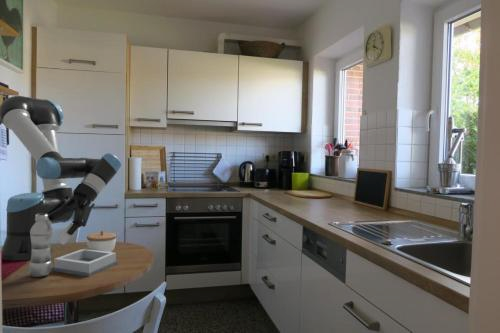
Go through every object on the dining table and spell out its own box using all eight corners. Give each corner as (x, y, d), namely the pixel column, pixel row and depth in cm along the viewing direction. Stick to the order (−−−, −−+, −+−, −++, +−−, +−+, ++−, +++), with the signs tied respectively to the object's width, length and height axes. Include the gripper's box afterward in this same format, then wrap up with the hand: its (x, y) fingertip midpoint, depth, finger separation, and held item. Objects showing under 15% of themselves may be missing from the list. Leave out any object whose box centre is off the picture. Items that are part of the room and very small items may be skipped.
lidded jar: (95, 260, 132) (96, 235, 132) (81, 254, 138) (81, 230, 138) (121, 254, 140) (121, 231, 140) (106, 249, 147) (107, 227, 147)
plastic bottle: (48, 270, 118) (50, 212, 118) (54, 276, 114) (55, 215, 113) (26, 274, 114) (27, 213, 113) (31, 280, 109) (32, 217, 108)
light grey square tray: (51, 270, 119) (51, 259, 119) (83, 258, 133) (83, 248, 133) (89, 276, 115) (89, 264, 115) (117, 263, 129) (117, 252, 129)
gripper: (119, 199, 122) (79, 251, 110) (74, 192, 134) (33, 239, 122) (106, 185, 117) (63, 238, 105) (60, 179, 130) (17, 227, 117)
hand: (47, 239), depth 114 cm, fingers open, 13 cm apart
